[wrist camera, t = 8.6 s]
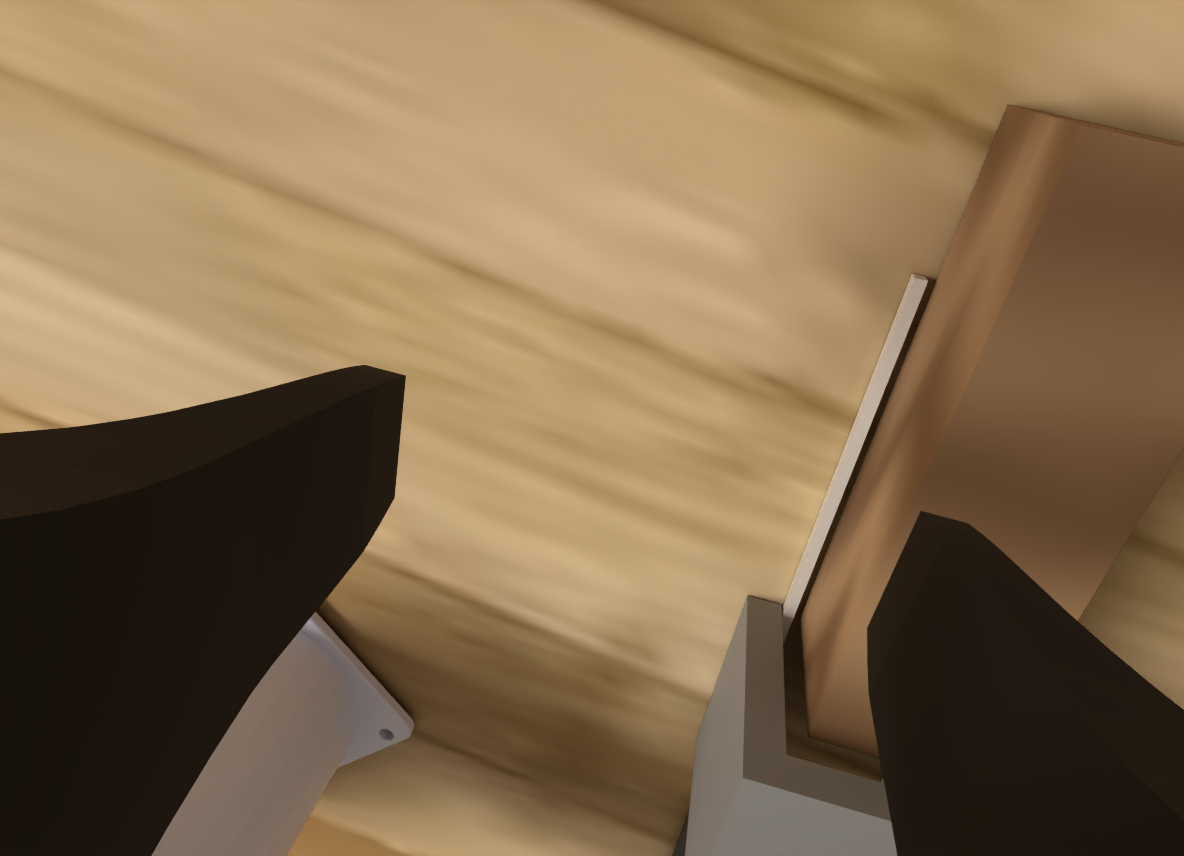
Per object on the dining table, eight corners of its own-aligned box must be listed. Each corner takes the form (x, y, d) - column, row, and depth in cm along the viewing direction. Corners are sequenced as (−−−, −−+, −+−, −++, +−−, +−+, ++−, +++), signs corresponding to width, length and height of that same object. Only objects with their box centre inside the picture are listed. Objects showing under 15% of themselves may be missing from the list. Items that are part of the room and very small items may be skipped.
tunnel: (895, 844, 26) (932, 1068, 21) (681, 780, 27) (659, 981, 21) (1184, 338, 18) (1379, 478, 12) (867, 262, 19) (913, 362, 13)
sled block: (939, 655, 23) (976, 785, 19) (800, 617, 23) (808, 737, 19) (1205, 147, 16) (1345, 183, 13) (1007, 105, 17) (1083, 125, 13)
